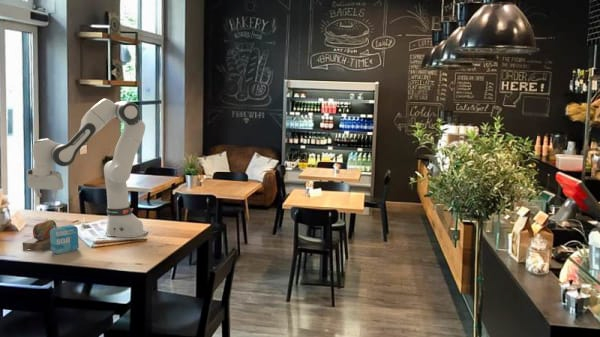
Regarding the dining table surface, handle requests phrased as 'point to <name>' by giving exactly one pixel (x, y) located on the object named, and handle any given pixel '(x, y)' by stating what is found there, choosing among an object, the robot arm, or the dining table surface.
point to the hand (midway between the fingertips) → (46, 197)
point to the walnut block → (37, 244)
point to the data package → (64, 239)
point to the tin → (43, 229)
